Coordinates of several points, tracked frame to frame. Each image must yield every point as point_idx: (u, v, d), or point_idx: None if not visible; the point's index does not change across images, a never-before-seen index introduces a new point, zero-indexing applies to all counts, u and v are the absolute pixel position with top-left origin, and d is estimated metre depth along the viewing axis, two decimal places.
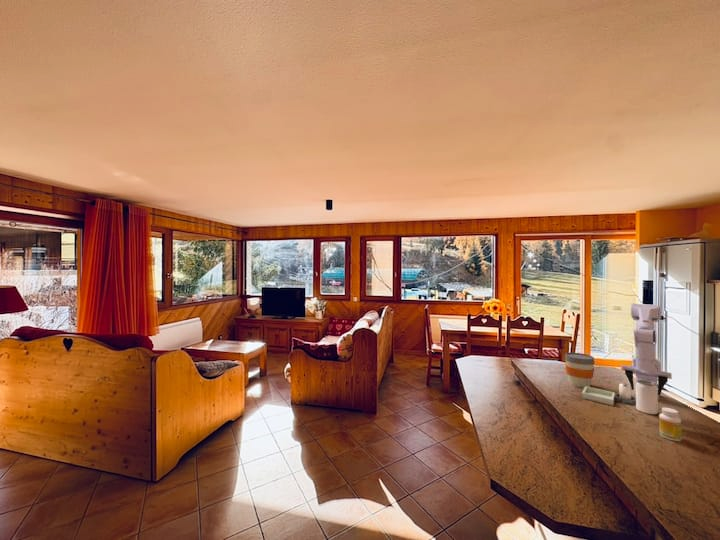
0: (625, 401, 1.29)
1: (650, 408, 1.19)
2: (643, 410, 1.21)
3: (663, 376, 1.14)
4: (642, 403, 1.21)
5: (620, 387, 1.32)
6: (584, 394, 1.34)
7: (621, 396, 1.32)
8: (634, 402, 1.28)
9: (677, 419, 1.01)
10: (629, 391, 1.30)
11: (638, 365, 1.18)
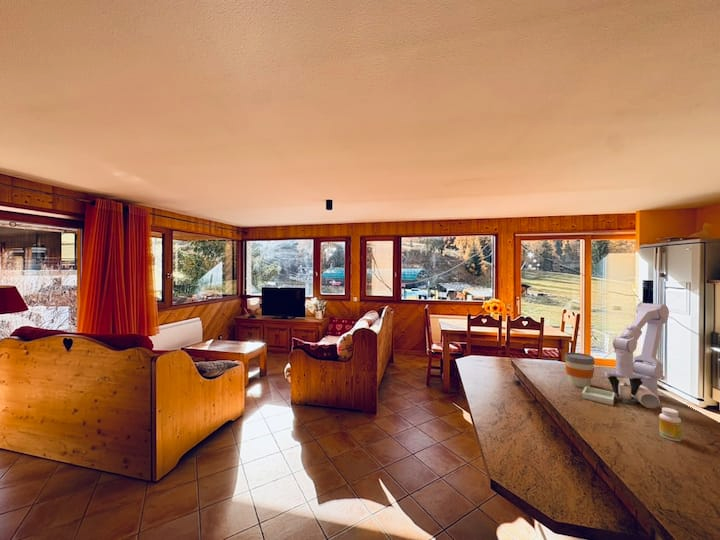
0: (625, 401, 1.29)
1: (655, 395, 1.25)
2: (651, 393, 1.24)
3: (638, 378, 1.30)
4: (647, 390, 1.27)
5: (620, 387, 1.32)
6: (584, 394, 1.34)
7: (621, 396, 1.32)
8: (634, 402, 1.28)
9: (677, 419, 1.01)
10: (629, 391, 1.30)
11: (621, 370, 1.31)
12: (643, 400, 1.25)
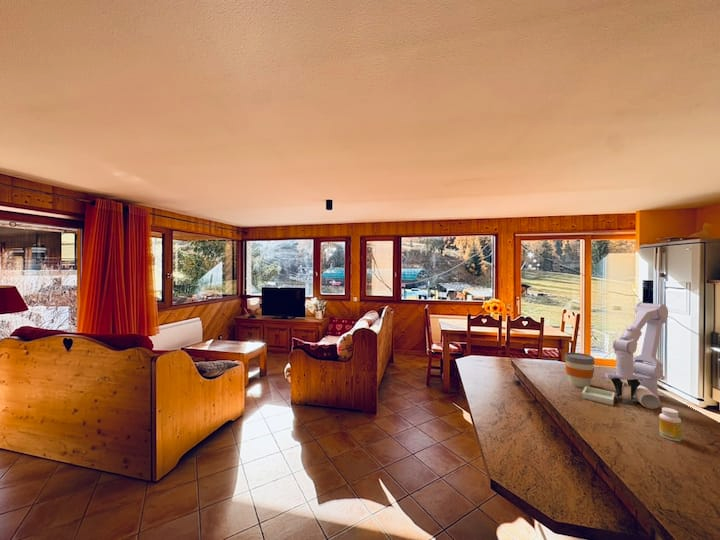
0: (625, 401, 1.29)
1: None
2: (652, 394, 1.24)
3: (639, 379, 1.30)
4: (648, 391, 1.27)
5: None
6: (584, 394, 1.34)
7: (621, 396, 1.32)
8: (634, 402, 1.28)
9: (677, 419, 1.01)
10: (629, 391, 1.30)
11: (622, 372, 1.31)
12: (643, 400, 1.25)
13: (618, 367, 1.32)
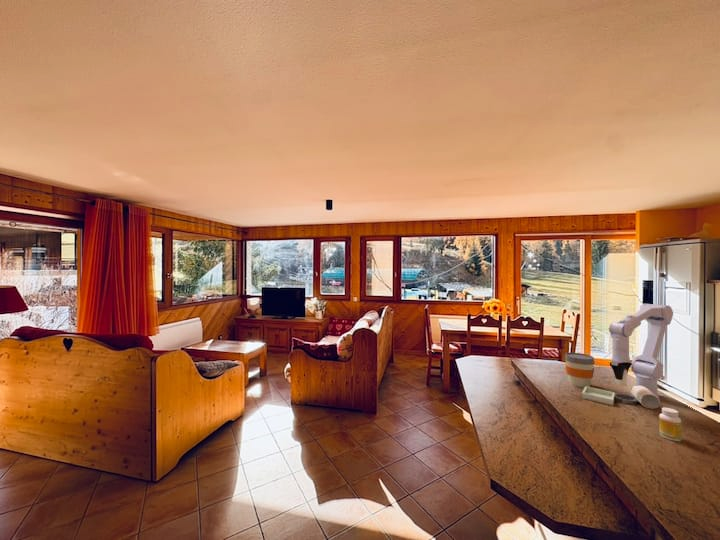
0: (625, 401, 1.29)
1: None
2: (652, 394, 1.24)
3: None
4: (648, 391, 1.27)
5: None
6: (584, 394, 1.34)
7: (621, 381, 1.31)
8: (634, 402, 1.28)
9: (677, 419, 1.01)
10: None
11: (624, 356, 1.30)
12: (643, 400, 1.25)
13: (619, 352, 1.31)
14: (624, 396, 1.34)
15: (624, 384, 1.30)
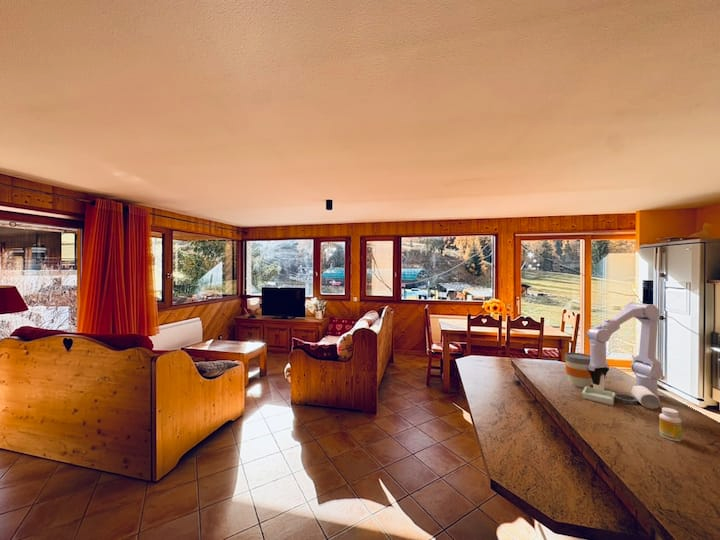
0: (625, 401, 1.29)
1: None
2: (652, 394, 1.24)
3: None
4: (648, 391, 1.27)
5: None
6: (584, 394, 1.34)
7: (599, 386, 1.33)
8: (634, 402, 1.28)
9: (677, 419, 1.01)
10: None
11: (601, 361, 1.32)
12: (643, 400, 1.25)
13: (596, 357, 1.33)
14: (624, 396, 1.34)
15: (602, 389, 1.33)
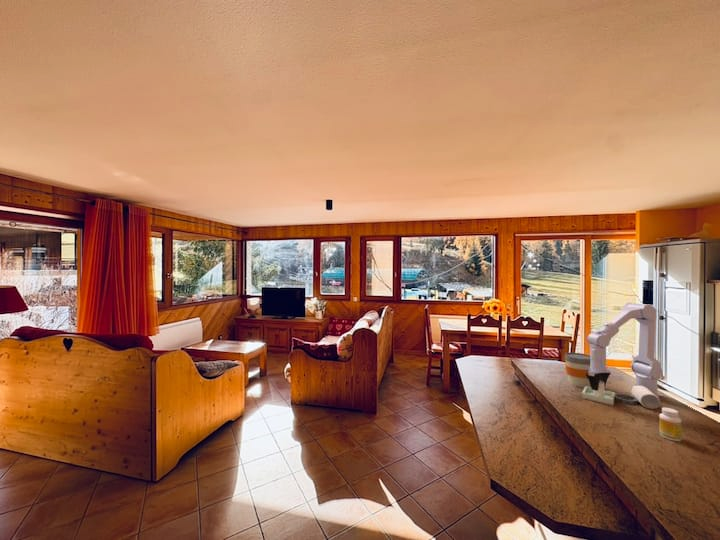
0: (625, 401, 1.29)
1: None
2: (652, 394, 1.24)
3: None
4: (648, 391, 1.27)
5: None
6: (584, 394, 1.34)
7: (599, 394, 1.33)
8: (634, 402, 1.28)
9: (677, 419, 1.01)
10: None
11: (601, 366, 1.32)
12: (643, 400, 1.25)
13: (596, 362, 1.33)
14: (624, 396, 1.34)
15: None
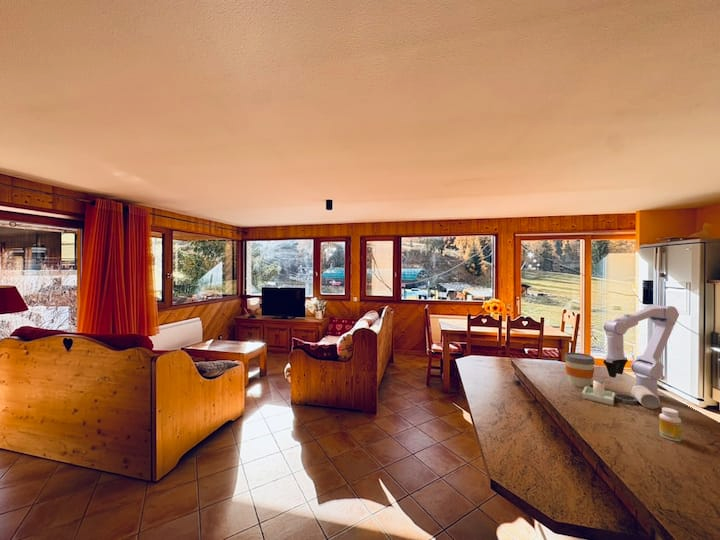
0: (625, 401, 1.29)
1: None
2: (652, 394, 1.24)
3: None
4: (648, 391, 1.27)
5: (598, 385, 1.33)
6: (584, 394, 1.34)
7: (599, 394, 1.33)
8: (634, 402, 1.28)
9: (677, 419, 1.01)
10: None
11: (619, 353, 1.33)
12: (643, 400, 1.25)
13: (614, 349, 1.34)
14: (624, 396, 1.34)
15: None
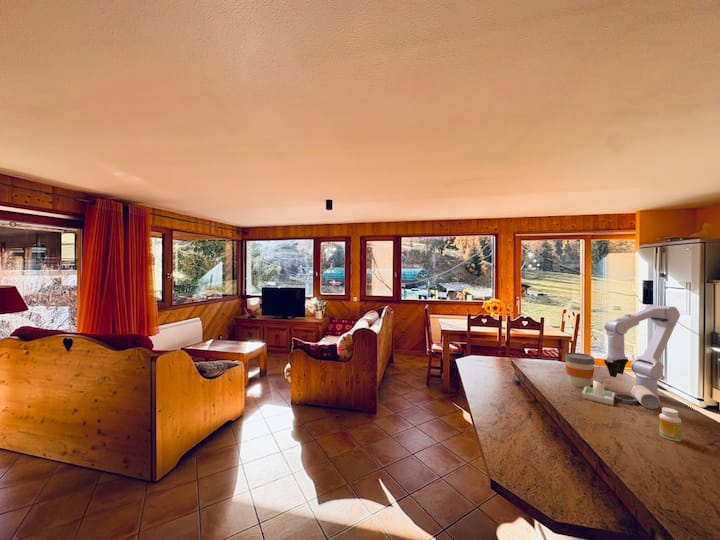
0: (625, 401, 1.29)
1: None
2: (652, 394, 1.24)
3: None
4: (648, 391, 1.27)
5: (598, 385, 1.33)
6: (584, 394, 1.34)
7: (599, 394, 1.33)
8: (634, 402, 1.28)
9: (677, 419, 1.01)
10: None
11: (619, 353, 1.33)
12: (643, 400, 1.25)
13: (615, 349, 1.34)
14: (624, 396, 1.34)
15: None
